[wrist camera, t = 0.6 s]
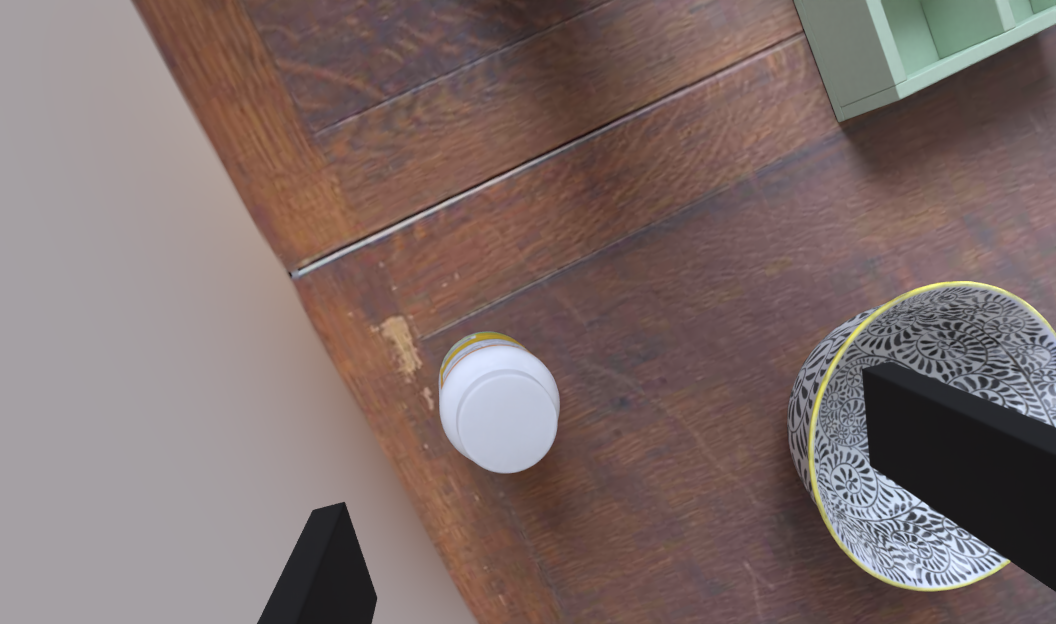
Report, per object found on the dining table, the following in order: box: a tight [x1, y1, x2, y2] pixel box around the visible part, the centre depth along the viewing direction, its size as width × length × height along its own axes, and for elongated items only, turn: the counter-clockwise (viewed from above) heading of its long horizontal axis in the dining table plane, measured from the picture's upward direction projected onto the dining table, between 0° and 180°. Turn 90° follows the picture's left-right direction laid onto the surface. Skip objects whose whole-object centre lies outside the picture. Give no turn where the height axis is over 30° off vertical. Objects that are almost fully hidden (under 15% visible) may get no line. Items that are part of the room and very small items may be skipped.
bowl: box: [787, 281, 1056, 591], centre depth 31 cm, size 16×16×8 cm
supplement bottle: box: [439, 332, 560, 473], centre depth 26 cm, size 5×5×10 cm
